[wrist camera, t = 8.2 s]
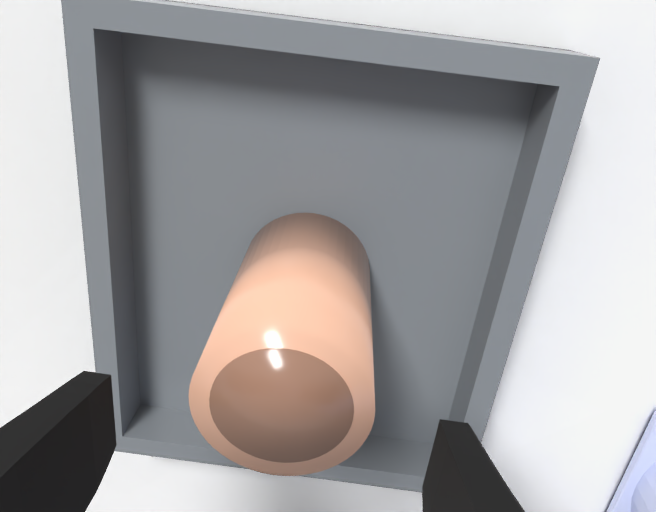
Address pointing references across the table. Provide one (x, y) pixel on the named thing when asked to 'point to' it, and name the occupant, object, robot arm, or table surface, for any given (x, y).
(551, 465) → the table surface
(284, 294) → the peach cylinder
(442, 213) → the tray
